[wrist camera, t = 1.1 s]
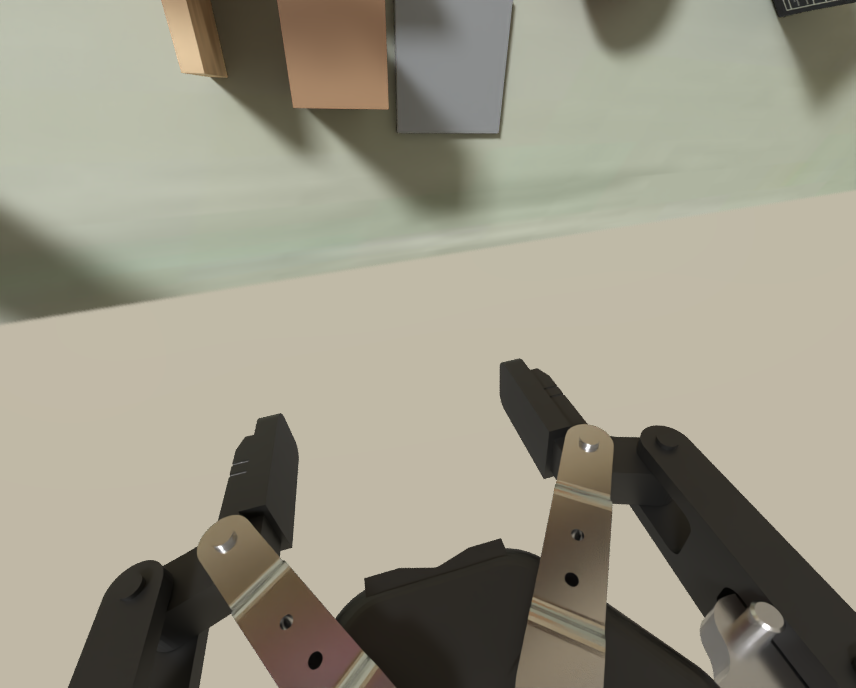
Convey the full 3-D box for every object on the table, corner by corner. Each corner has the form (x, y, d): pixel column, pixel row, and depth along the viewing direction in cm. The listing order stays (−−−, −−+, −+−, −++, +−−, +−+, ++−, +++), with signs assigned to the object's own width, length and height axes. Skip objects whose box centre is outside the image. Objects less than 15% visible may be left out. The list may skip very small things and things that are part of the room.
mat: (397, 132, 32) (398, 133, 31) (393, -12, 27) (394, -14, 26) (496, 132, 34) (498, 133, 33) (509, -2, 29) (513, -4, 28)
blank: (366, 104, 30) (388, 109, 21) (301, 103, 29) (293, 108, 20) (361, 23, 28) (384, -15, 18) (289, 18, 26) (273, -25, 17)
